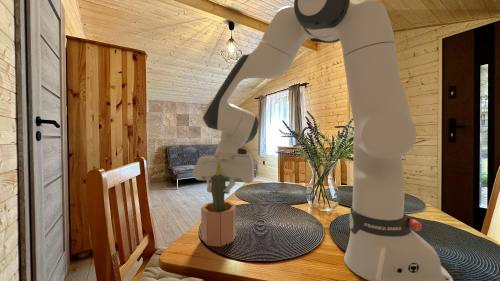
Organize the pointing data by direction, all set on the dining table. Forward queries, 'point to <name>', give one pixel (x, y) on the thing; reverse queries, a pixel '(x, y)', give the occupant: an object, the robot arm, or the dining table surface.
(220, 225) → the crock
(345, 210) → the dining table surface
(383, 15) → the robot arm
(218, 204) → the vegetable
